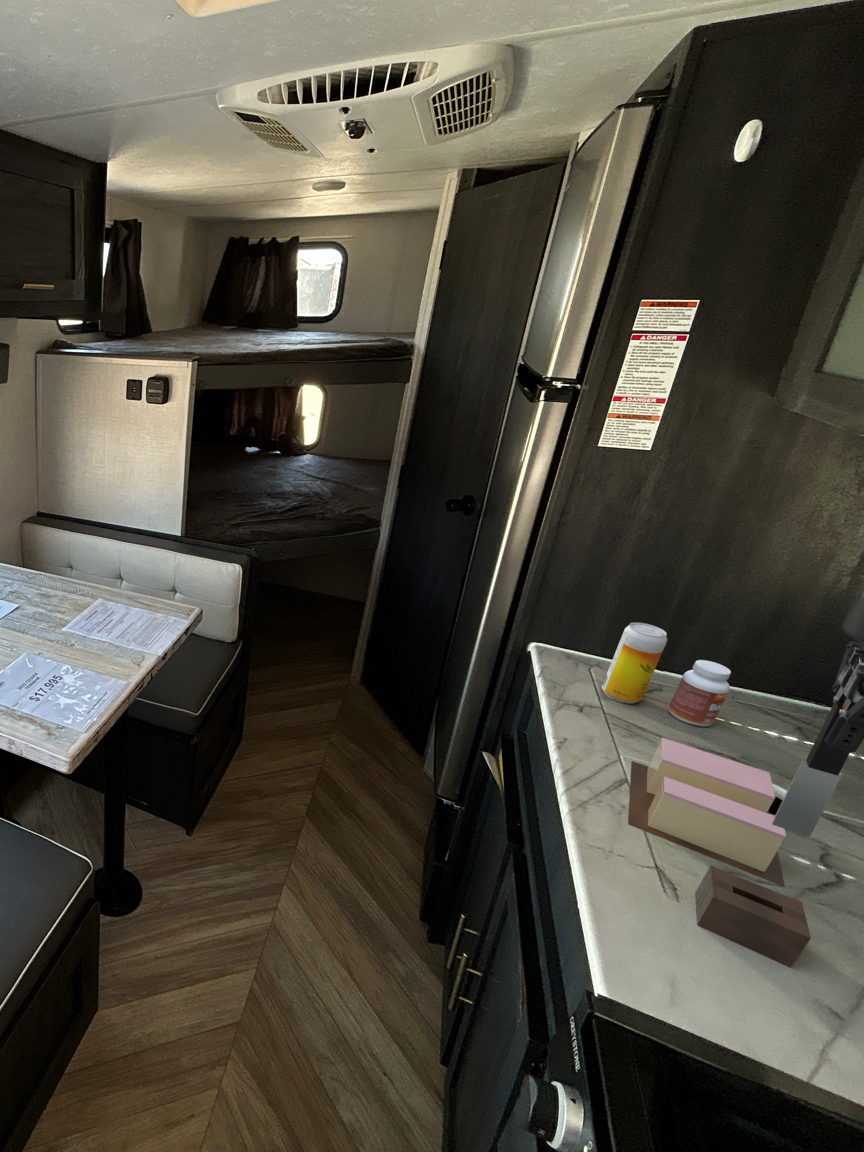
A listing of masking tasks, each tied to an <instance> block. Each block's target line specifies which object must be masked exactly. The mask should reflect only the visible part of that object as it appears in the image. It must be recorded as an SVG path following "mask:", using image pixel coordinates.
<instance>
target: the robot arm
mask: <svg viewBox="0 0 864 1152" xmlns="http://www.w3.org/2000/svg"><path fill="white" fill-rule="evenodd" d="M841 628H842V630H843V632H844V633H845V634H847V636H849V637H851V638H852V639H854V640H856V641H858V642H856V641H849V642H848V643H847V644H846V646H845V651H844V655H843V658H842V660H841V664H840V667H839V669H838V673H837V676H836V678H835V681H834V684H833V685H832V691H833V693H836V694H835V695H833V697H832V702H833V704H834V702H835V701H838V702H842V703H844V704H843V706H842V708H841V709H840V710H839V715H838V716H837V718H836V720H835V722H834V723H833V725H832V727H831V728H830V730H829V732H828V734H827V735H826V737H825V739H824V740H825V743H826V745H827V746H829V747H832V748H835V749H838V750H842V751H845V752H849V754H851V753H852V754H853V753H856V752H857V751H858V749H859V747H860V746H861V745H862V742H863V741H864V584H863V585H862V587H861V589H860V590H859V592H858V594H857V596H856V597H855V599H854V601H853V603H852V605H851V607H850V608H849V610H848V612H847V614H846V616H845V618H844V619H843V621H842V624H841Z"/></svg>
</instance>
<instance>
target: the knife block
mask: <svg viewBox="0 0 864 1152" xmlns="http://www.w3.org/2000/svg"><path fill="white" fill-rule="evenodd" d="M694 898H695V900H694V901H695V911H696V912H695V913H696V914H695V915H696V916H695V917H696V926H698V927H699V928H701V929H704V930H707V931H708V932H711V933H713V934H715V935H716V936H720V937H721V938H723V939H726V940H728V941H730V942H733V943H734V944H737V945H739V946H741V947H743V948H746V949H748V950H750V951H752V952H755V953H757V954H759V955H762V956H763V957H766V958H767V959H770V960H773V961H774V962H777V963H779V964H781V965H783V966H785V967H787V968H790V969H791V968H792V967H793V965H794V964H795V963H796V961H797V959H798V958H799V957H800V956H801V953H802V952H803V951H804V949H805V948H806V946H807V945H808V943H809V942H810V941H811V939H812V936H811V932H810V928H809V924H808V920H807V916H806V912H805V907H804V903H803V902H802V901H800V900H797V899H795V898H792V897H790V896H788V895H785V894H782V893H780V892H778V891H776V890H772V889H771V888H768V887H765V886H763V885H760V884H758V883H756V882H754V881H751V880H748V879H746V878H743V877H741V876H738V875H736V874H733V873H731V872H728V871H726V870H724V869H722V868H720V867H719V868H718V867H716V866H714V865H709V867H708V869H707V871H706V873H705V874H704V876H703V878H702V880H701V882H700V883H699V885H698V887H697V889H696V891H695V893H694Z"/></svg>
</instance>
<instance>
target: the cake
mask: <svg viewBox="0 0 864 1152" xmlns="http://www.w3.org/2000/svg"><path fill="white" fill-rule="evenodd" d="M664 777H667V778H670V779H673V780H676V781H678V782H681V783H684V784H687V785H690V786H692V787H695V788H698V789H701V790H704V791H706V792H709V793H712V794H715V795H718V796H720V797H723V798H726V799H729V800H732V801H734V802H737V803H740V804H743V805H746V806H748V807H751V808H754V809H757V810H760V811H762V812H765V813H767V812H768V810H769V811H770V808H771V806H772V805H773V803H774V801H775V799H776V794H775V789H774V785H773V782H772V781H773V780H772V776H771V773H770V772H769V771H765V770H762V769H759V768H757V767H753V766H750V765H747V764H744V763H742V762H738V761H736V760H732V759H729V758H727V757H723V756H720V755H716V754H713V753H711V752H707V751H705V750H702V749H699V748H696V747H692V746H689V745H687V744H683V743H680V742H677V741H675V740H672V739H668V738H665V737H661V739H660V741H659V743H658V745H657V748H656V750H655V752H654V753H653V756H652V759H651V761H650V763H649V765H648V769H647V792H648V793H651V794H653V795H656V793H657V791H658V789H659V787H660V785H661V783H662V781H663V778H664Z"/></svg>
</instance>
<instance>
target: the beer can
mask: <svg viewBox="0 0 864 1152" xmlns="http://www.w3.org/2000/svg"><path fill="white" fill-rule="evenodd" d="M667 634H668V633H667V632H666V631H665V630H664V629H662V628H660V627H658V626H656V625H652V624H649V623H644V622H630V623H629V625H627V626H626V627H625V628H624V631H623V632H622V635H621V637H620V639H619V641H618V644H617V647H616V650H615V653H614V655H613V658H612V660H611V662H610V665H609V667H608V670H607V672H606V674H605V677H604V680H603V682H602V685H601V689H602V690H603V693H604V694H605V696H606V697H608V698H610V699H611V700H614V701H616V702H619V703H622V704H627V705H634V704H637V703H639V702H641V701H642V700H643V698H644V695H645V693H646V691H647V689H648V687H649V684H650V681H651V679H652V677H653V675H654V672H655V670H656V668H657V665H658V663H659V661H660V659H661V656H662V654H663V652H664V649H665V647H666V645H667V642H668V636H667Z"/></svg>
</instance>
